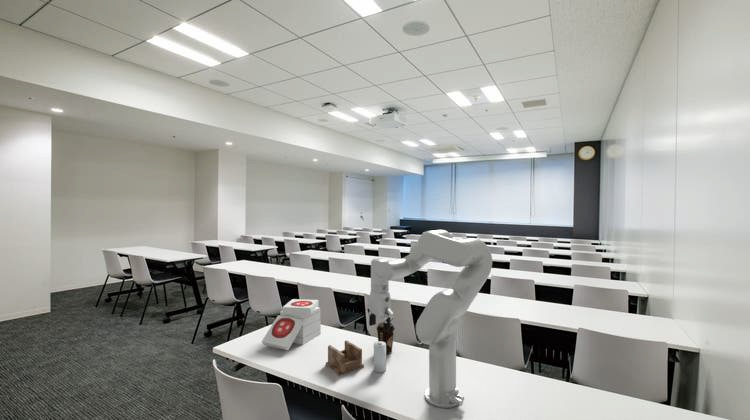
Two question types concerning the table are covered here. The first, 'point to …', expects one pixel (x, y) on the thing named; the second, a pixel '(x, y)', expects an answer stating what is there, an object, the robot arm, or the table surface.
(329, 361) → the holder
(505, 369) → the table surface
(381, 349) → the roll
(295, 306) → the pizza box stack
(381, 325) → the coffee cup
